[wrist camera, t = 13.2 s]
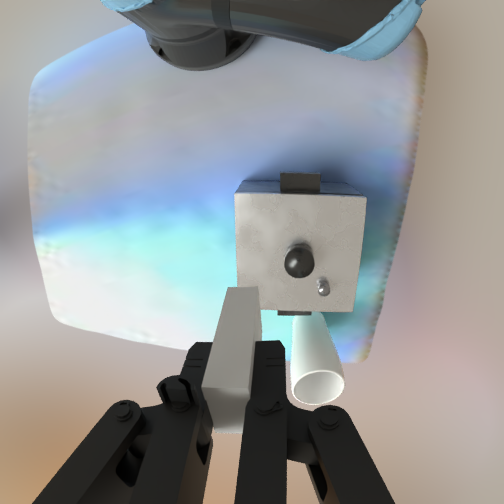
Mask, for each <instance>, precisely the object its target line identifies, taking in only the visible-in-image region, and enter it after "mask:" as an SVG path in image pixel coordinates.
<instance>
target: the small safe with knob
mask: <svg viewBox="0 0 504 504" xmlns="http://www.w3.org/2000/svg"><path fill="white" fill-rule="evenodd" d="M320 177H321V174H320V173H317V172H280V181H242V183H241V184H240V186H239V188H238V189H237V191H236V192H269V193H307V194H331V195H351V196H363V194H361V193H360V192H359V191H357V190H356V189H354V188H353V187H351V186H350V185H349V184H347V183H338V182H320ZM311 314H312V311H283V310H278V315H288V316H307V315H311Z"/></svg>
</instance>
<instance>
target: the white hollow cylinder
mask: <svg viewBox="0 0 504 504" xmlns="http://www.w3.org/2000/svg"><path fill="white" fill-rule="evenodd" d="M290 364H291V365H290V376H291V387H292V393H293V396H294V397H295V398H296V399H297V400H298V401H300V402H302V403H305V404H310V405H320V404H325V403H328V402H330V401H332V400H334V399H335V398H337V397H338V396H339V395H340V394H341V393H342V392H343V390H344V387H345V380H344V374H343V369H342V364H341V361H340V358H339V355H338V352H337V350H336V347H335V345H334V342H333V340H332V337H331V335H330V332H329V330H328V327H327V325H326V321H325V318H324V316H323V314H322V313H321V312H314V311H312V314H311V315H307V316H295V317H294V319H293V321H292V349H291V363H290Z"/></svg>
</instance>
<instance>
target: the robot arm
mask: <svg viewBox="0 0 504 504" xmlns="http://www.w3.org/2000/svg"><path fill="white" fill-rule="evenodd" d="M100 1H102V3H103V4H104V6H106V7H107V8H109V9H110V10H114V11H117V12H118V13H120V14H121V15H123V16H124V17H126V18H127V19H129V20H130V21H132V22H133V23H135V24H136V25H138V26H139V27H141V28H142V29H144V30H145V32H146V36H147V40H148V42H149V45H150V46H151V48H152V49H153V51H154V52H155V53H156V54H157V55H158V56H159V57H160V58H161V59H163V60H164V61H166V62H167V63H169V64H171V65H173V66H175V67H177V68H180V69H184V70H190V71H204V70H210V69H214V68H218V67H221V66H223V65H226V64H228V63H230V62H231V61H233V60H235V59H236V58H238V57H239V56H240V55H241V54H243V53H244V52H245V51H246V50H247V49H248V47H249V46H250V45H251V43H252V42H253V40H254V39H255V37H256V34H259V35H264V36H270V37H275V38H279V39H284V40H288V41H293V42H297V43H301V44H305V45H309V46H312V47H316V48H320V50H321V51H323V52H325V53H328V54H340V55H344V56H347V57H350V58H354V59H357V60H362V61H367V60H368V61H371V60H377V59H380V58H382V57H384V56H386V55H388V54H389V53H391V52H392V51H393V50H394V49H396V48H397V47H398V46H399V45H400V44H401V43H402V42H403V40H404V39H405V38H406V37H407V36H408V34H409V33H410V32H411V30H412V29H413V27H414V26H415V24H416V23H417V21H418V19H419V17H420V15H421V13H422V8H421V5H422V4H423V3H424V1H426V0H100ZM261 340H262V324H261V312H260V300H259V288H258V286H253V287H228V289H227V292H226V296H225V300H224V303H223V307H222V311H221V314H220V318H219V322H218V326H217V329H216V333H215V337H214V341H213V342H196V343H195V344H194V345H193V346H192V347H191V348H190V349H189V351H188V354H187V356H186V360H185V362H184V365H183V368H182V371H181V374H180V375H176V376H170V377H167V378H165V379H164V380H162V381H161V382H160V383H159V384H158V386H157V387H156V388H157V390H158V393H159V395H160V397H161V400H162V402H163V403H162V404H160V405H156V406H151V407H143V408H140V407H139V405H138V404H137V403H135V402H134V401H130V400H123V401H119V402H117V403H115V404H113V405H112V406H111V407H110V408H109V409H108V410H107V412H106V413H105V414H104V416H103V417H102V418H101V419H100V420H99V422H98V423H97V424H96V425H95V426H94V428H93V429H92V430H91V431H90V433H89V434H88V435H87V437H85V439H84V440H83V441H82V442H81V443H80V445H79V446H78V447H77V448H76V450H75V451H74V452H73V453H72V455H71V456H70V457H69V458H68V459H67V461H66V462H65V463H64V464H63V466H62V467H61V468H60V469H59V471H58V472H57V473H56V474H55V476H54V477H53V478H52V479H51V481H50V482H49V483H48V484H47V486H46V487H45V488H44V489H43V491H42V492H41V493H40V494H39V496H38V497H37V498H36V499H35V501H34V502H33V503H32V504H203V498H204V492H205V487H206V481H207V476H208V470H209V464H210V459H211V453H212V447H213V439H212V436H211V433H212V428H213V427H214V430H215V432H216V433H236V434H242V442H241V451H240V460H239V468H238V476H237V486H236V494H235V502H234V504H286V495H287V488H286V487H287V459H288V460H292V461H296V462H301V463H305V464H306V467H307V470H308V473H309V476H310V478H311V481H312V484H313V486H314V490H315V492H316V495H317V498H318V500H319V503H320V504H395V502H394V500H393V499H392V497H391V495H390V493H389V491H388V489H387V487H386V485H385V483H384V481H383V479H382V477H381V476H380V473H379V472H378V470H377V468H376V466H375V464H374V462H373V460H372V458H371V456H370V454H369V452H368V450H367V448H366V447H365V445H364V443H363V441H362V439H361V437H360V435H359V433H358V431H357V429H356V428H355V426H354V424H353V422H352V420H351V418H350V416H349V414H348V413H347V412H346V411H345V410H344V409H342V408H340V407H338V406H333V405H326V406H321V407H319V408H317V409H315V410H314V411H308V410H304V409H300V408H297V407H296V406H294V405H292V404H291V403H290V402H289V400H288V398H287V395H286V368H285V367H286V366H285V347H284V346H283V345H282V343H281V342H280V340H275V341H261Z"/></svg>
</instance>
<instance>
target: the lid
mask: <svg viewBox="0 0 504 504" xmlns="http://www.w3.org/2000/svg"><path fill="white" fill-rule="evenodd" d="M234 195H235V229H236V259H237V286H238V287H253V286H258V288H259V300H260V309H261V310H283V311H314V312H353V307H354V301H355V294H356V288H357V281H358V274H359V267H360V260H361V252H362V243H363V234H364V224H365V214H366V202H367V198H366V197H365V196H351V195H331V194H307V193H269V192H235V194H234Z"/></svg>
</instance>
